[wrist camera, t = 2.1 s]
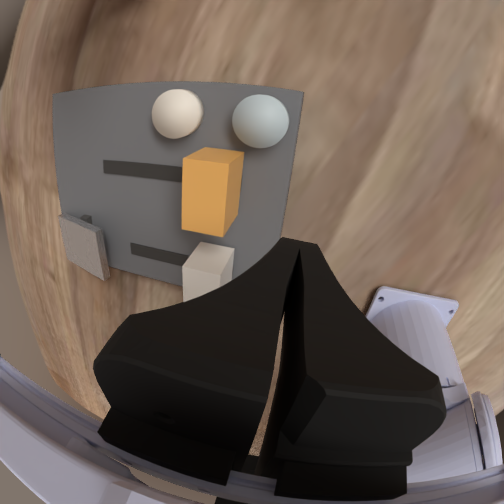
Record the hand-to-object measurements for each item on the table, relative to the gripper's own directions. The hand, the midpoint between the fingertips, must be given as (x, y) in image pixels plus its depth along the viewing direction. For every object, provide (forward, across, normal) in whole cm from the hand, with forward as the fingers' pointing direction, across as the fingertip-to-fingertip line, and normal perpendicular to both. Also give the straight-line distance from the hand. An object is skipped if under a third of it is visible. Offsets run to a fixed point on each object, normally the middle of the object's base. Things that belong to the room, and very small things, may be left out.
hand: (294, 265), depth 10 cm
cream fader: (+8, +5, +6) cm, 11 cm away
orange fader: (+8, +5, 0) cm, 9 cm away
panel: (+9, +10, +2) cm, 14 cm away
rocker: (+6, +16, +6) cm, 19 cm away
